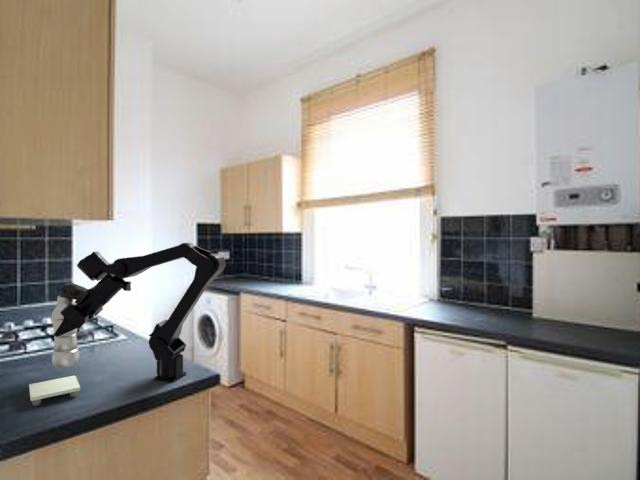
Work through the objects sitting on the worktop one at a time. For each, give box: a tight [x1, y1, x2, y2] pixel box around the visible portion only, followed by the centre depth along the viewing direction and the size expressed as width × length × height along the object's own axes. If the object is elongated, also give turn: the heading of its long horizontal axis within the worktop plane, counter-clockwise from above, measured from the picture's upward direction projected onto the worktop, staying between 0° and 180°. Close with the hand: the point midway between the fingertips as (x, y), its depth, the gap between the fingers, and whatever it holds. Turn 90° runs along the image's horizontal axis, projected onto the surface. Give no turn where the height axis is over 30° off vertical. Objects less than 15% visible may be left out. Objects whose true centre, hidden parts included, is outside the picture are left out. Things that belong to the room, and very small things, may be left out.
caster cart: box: [28, 375, 81, 407], centre depth 96 cm, size 10×10×2 cm
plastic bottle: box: [51, 294, 80, 369], centre depth 107 cm, size 6×7×20 cm
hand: (59, 332), depth 106 cm, fingers closed on plastic bottle, 6 cm apart
